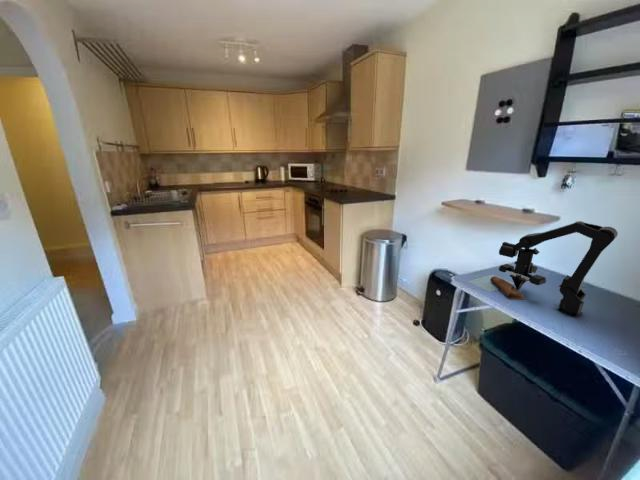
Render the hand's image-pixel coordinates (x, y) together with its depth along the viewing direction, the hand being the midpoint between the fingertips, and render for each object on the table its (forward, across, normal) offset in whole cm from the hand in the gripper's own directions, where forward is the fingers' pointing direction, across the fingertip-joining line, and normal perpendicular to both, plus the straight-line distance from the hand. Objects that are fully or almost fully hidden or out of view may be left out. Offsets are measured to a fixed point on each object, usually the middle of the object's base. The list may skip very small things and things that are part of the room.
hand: (517, 289), depth 134 cm
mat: (+2, +13, 0) cm, 14 cm away
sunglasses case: (+3, +5, +1) cm, 5 cm away
